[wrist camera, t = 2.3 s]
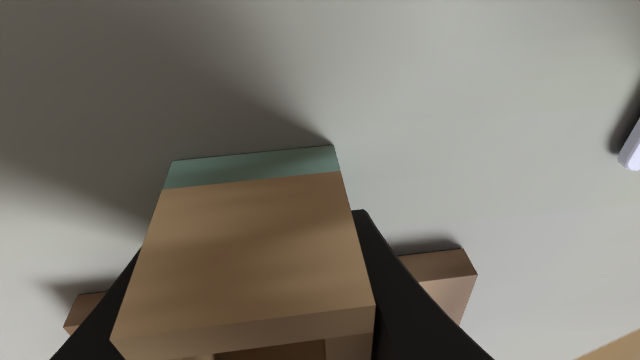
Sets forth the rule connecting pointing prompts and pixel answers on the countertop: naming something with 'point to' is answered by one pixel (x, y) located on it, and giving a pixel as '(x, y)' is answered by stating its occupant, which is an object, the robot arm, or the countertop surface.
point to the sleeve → (250, 264)
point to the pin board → (427, 268)
